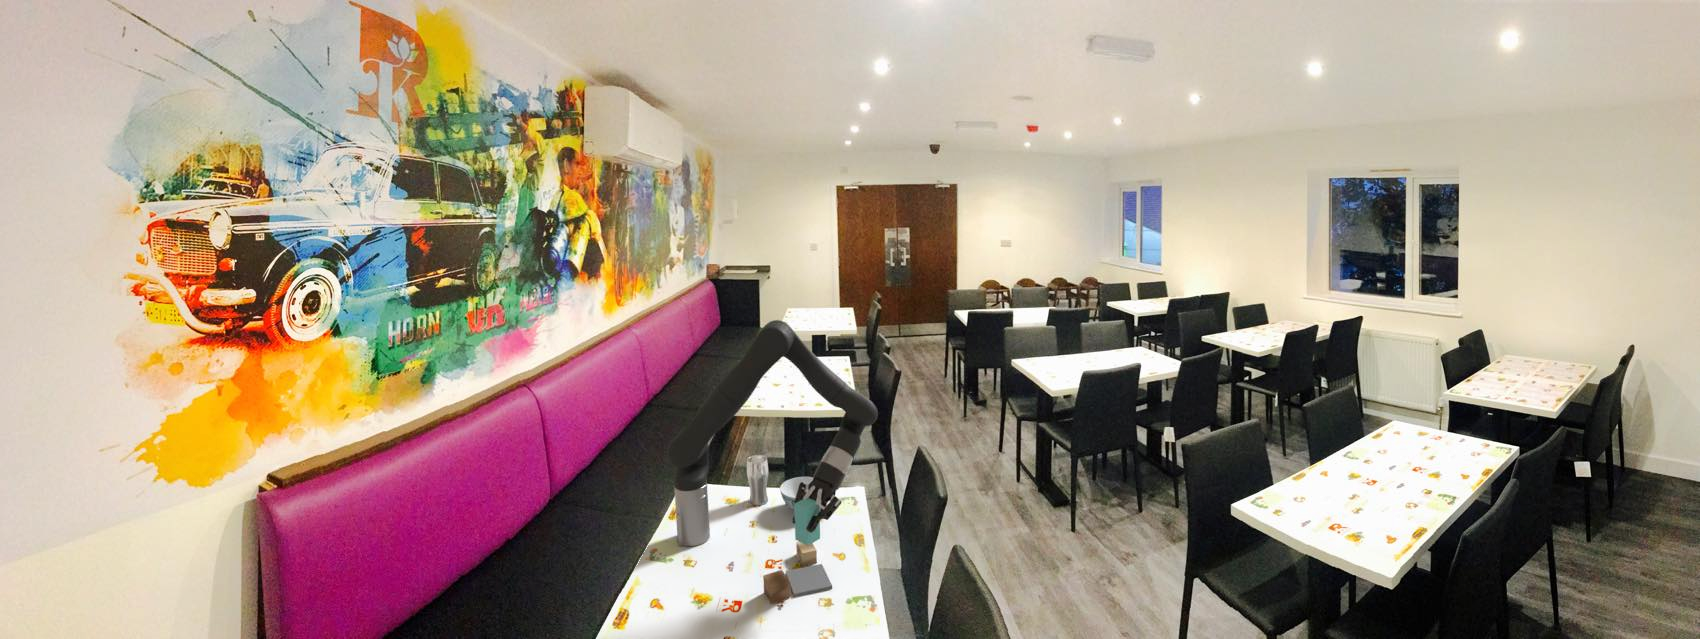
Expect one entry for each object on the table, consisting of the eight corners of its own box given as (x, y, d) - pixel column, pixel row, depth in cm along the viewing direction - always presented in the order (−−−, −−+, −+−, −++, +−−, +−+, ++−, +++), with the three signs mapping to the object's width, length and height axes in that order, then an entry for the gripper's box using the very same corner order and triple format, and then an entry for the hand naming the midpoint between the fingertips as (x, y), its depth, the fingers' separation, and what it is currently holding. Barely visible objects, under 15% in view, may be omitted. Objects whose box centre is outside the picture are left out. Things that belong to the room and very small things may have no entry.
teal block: (807, 546, 149) (806, 509, 147) (795, 539, 152) (794, 503, 150) (820, 538, 153) (819, 502, 151) (808, 532, 156) (806, 497, 154)
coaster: (794, 596, 148) (794, 593, 148) (785, 573, 158) (785, 571, 158) (832, 588, 152) (832, 585, 151) (821, 566, 161) (821, 563, 161)
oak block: (816, 563, 163) (816, 550, 162) (802, 566, 161) (802, 553, 160) (810, 551, 168) (809, 539, 167) (796, 554, 167) (796, 541, 166)
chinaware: (825, 521, 184) (825, 498, 183) (777, 521, 184) (777, 498, 183) (828, 498, 199) (828, 476, 197) (783, 498, 199) (783, 476, 198)
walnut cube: (770, 604, 146) (770, 586, 145) (764, 593, 150) (763, 575, 149) (789, 598, 148) (789, 580, 147) (782, 587, 152) (781, 569, 151)
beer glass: (765, 507, 193) (763, 464, 190) (745, 505, 194) (743, 462, 191) (772, 497, 200) (770, 455, 197) (752, 495, 201) (750, 454, 198)
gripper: (807, 454, 159) (774, 513, 152) (846, 469, 150) (814, 532, 143) (821, 466, 164) (790, 523, 157) (860, 481, 155) (829, 543, 148)
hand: (802, 527), depth 150 cm, fingers closed on teal block, 4 cm apart
